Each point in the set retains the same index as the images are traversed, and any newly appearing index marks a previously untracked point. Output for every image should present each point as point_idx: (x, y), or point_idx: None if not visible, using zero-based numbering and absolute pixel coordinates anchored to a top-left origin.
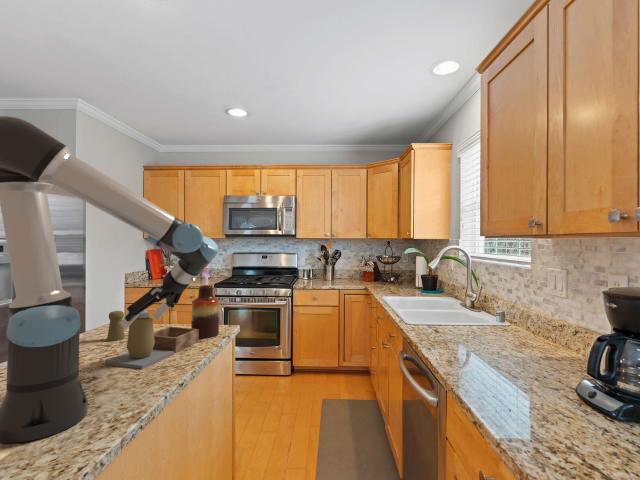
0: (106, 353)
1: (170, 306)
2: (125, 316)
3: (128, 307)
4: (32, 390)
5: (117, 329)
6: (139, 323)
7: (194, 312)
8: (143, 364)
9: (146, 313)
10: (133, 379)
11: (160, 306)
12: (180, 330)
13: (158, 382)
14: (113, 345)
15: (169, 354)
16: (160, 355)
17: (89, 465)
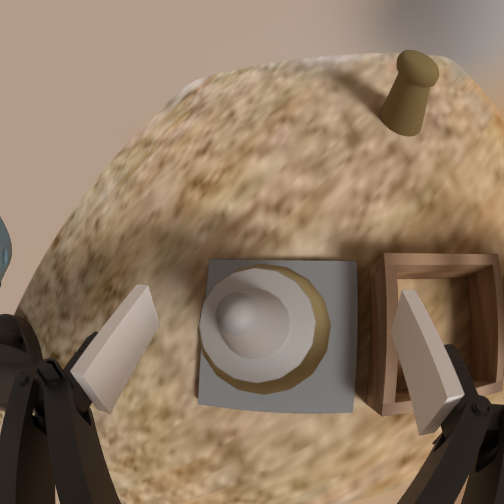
0: (297, 185)
1: (439, 436)
2: (108, 321)
3: (14, 384)
4: None
5: (403, 106)
6: (207, 361)
7: None
8: (207, 401)
9: (245, 379)
10: (138, 419)
11: (429, 360)
12: (493, 314)
13: (142, 479)
14: (361, 149)
15: (327, 412)
16: (299, 399)
17: None
